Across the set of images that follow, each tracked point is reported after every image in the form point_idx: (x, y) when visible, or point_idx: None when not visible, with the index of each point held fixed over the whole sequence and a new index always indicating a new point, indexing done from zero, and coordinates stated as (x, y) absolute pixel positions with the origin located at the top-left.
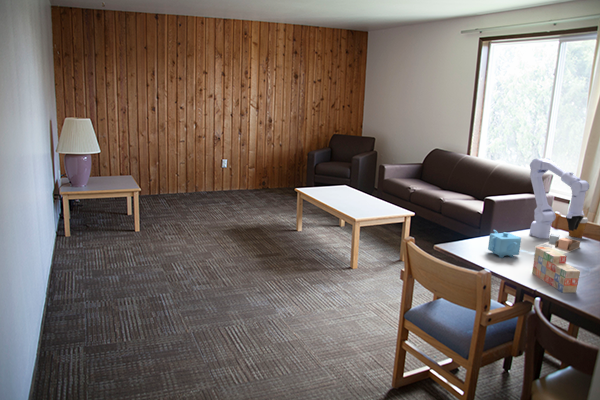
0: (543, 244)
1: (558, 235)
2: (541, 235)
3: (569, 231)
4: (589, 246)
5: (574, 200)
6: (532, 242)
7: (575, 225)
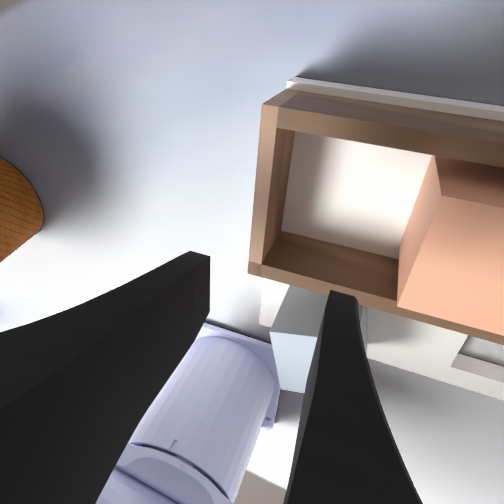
0: (469, 376)
1: (284, 339)
2: (264, 400)
3: (3, 258)
4: (91, 33)
5: None
6: (388, 413)
7: (164, 327)
